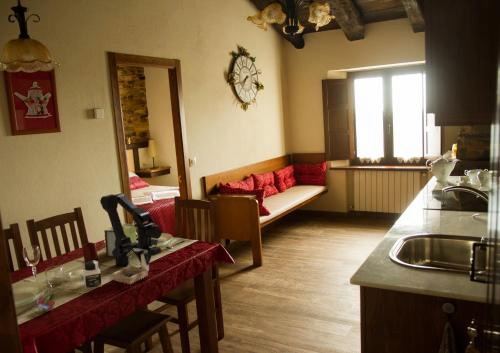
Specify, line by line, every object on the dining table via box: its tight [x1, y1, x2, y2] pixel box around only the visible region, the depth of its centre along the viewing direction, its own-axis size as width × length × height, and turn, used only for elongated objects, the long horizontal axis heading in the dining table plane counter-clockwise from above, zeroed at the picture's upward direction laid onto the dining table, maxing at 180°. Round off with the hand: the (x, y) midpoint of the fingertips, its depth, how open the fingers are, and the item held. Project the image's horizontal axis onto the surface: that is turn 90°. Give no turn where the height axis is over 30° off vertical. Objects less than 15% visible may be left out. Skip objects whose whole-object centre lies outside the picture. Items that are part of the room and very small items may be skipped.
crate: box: [112, 265, 149, 285], centre depth 211 cm, size 12×12×3 cm
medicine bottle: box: [83, 259, 103, 290], centre depth 202 cm, size 7×7×12 cm
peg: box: [140, 252, 150, 272], centre depth 220 cm, size 4×4×9 cm
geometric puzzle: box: [36, 294, 56, 314], centre depth 178 cm, size 7×7×8 cm
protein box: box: [104, 222, 137, 258], centre depth 248 cm, size 10×15×16 cm
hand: (145, 264), depth 220 cm, fingers closed on peg, 4 cm apart
